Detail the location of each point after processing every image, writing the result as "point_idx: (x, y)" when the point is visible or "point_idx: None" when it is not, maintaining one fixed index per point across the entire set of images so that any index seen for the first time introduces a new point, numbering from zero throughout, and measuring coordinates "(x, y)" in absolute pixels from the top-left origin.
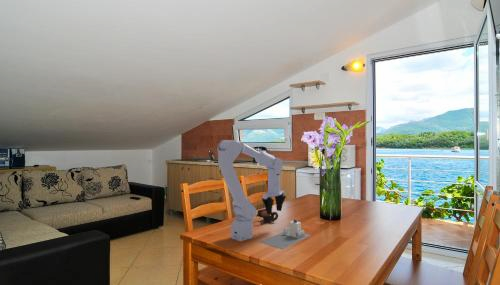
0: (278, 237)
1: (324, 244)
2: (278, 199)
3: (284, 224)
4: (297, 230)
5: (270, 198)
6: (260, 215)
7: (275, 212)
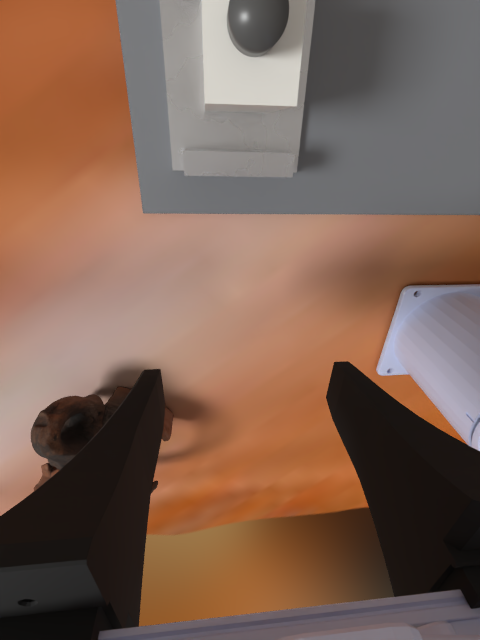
0: (367, 160)
1: None
2: (132, 535)
3: (36, 337)
4: None
5: (465, 566)
6: None
7: (50, 446)
